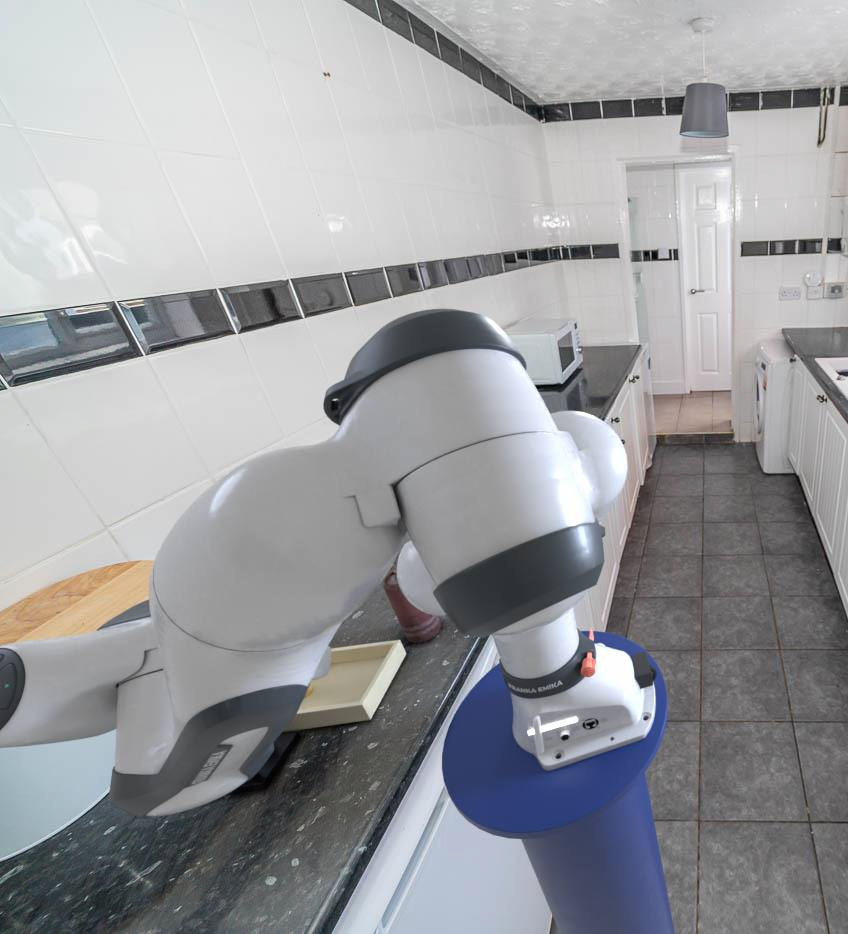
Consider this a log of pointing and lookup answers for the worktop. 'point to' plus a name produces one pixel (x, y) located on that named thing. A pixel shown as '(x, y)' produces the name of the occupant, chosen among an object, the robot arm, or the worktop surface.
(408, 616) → the can
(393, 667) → the cream wooden tray
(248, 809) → the worktop surface
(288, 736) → the bracket
